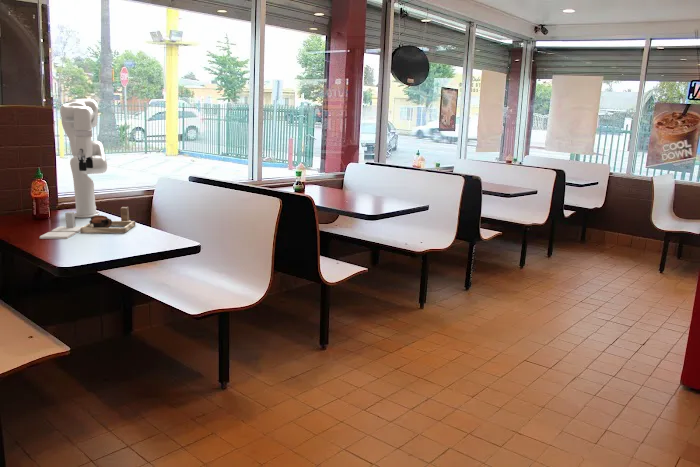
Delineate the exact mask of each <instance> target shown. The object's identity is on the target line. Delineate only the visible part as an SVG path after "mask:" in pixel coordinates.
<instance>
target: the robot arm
mask: <svg viewBox="0 0 700 467" xmlns="http://www.w3.org/2000/svg"><path fill="white" fill-rule="evenodd" d="M59 112H60V117H61V118H60V119H61V124H62V128H63V131H64V133H65V135H66V136H67V138H68V140H69V146H70V152H71V155H72V158H71V159H70V161H69V165H70V169H71V172H72V173H71V175H72V179H73V181H72V182H73V188H74V200H75V201H74V202H75V203H74V204H75V211H76V212H74V215H75V218H78V219H79V218H80V219H81V218H83V219H84V218H85V219H86V218H91V217H93V216H98V215H100V212H98V211H96V210H97V206H96V198H95V183H94V181H93V179H92V178H91V177H90V176H89V175H92V174H93V175H94V174H104V173H106V172H107V170H108V162H107V158H106V153H105V148H104V145H103V143H102V142H101V141H99V140H92V138H93V130H92V128H95V127H96V126H98V121H99V120H98V118H99V117H98V116H99V106H98V103H97V102H96V100H94V99H92V98H72V99H70V100H69V101H68V102H67V103H64V104H62V105H61V107H60V111H59Z"/></svg>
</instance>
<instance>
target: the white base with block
mask: <svg viewBox="0 0 700 467" xmlns="http://www.w3.org/2000/svg"><path fill="white" fill-rule="evenodd" d="M74 213H75V212H74V211H68V212H66V213H64V214H65V224H66V225H64V226H63V225H61V226H57V227H56V228H53V229H51V230H50V231H48V232H46V233H44V234H42V235H40V236H39V240H40V239H42V240H44V239H46V240H48V239H49V240H50V239H51V240H56V239H57V240H58V239H59V240H61V239H62V240H65V239H67V240H68V239H70V238H71V237H74V235H76V234H77V233H81V231H80V228H82V227H83V226H76V219H75V218H76V217H75V215H74Z"/></svg>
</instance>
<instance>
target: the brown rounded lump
mask: <svg viewBox="0 0 700 467" xmlns="http://www.w3.org/2000/svg"><path fill="white" fill-rule="evenodd" d="M112 221H113V220H112V219H111V218H109V217H107V216H106V215H100V214H99V215H98V216H93V217H90V220H89V221H88V224H89V223H90V224H93V227H92V228H111V227H112V226H111V224H112Z"/></svg>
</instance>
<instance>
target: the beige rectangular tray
mask: <svg viewBox="0 0 700 467" xmlns="http://www.w3.org/2000/svg"><path fill="white" fill-rule="evenodd" d="M120 219H121V220H112V224H111V226H110V227H109V228H92V227H94V226H93V224H90V223H89V222H88V223H87V224H86V225H84V226H81V227H82V228H80V233H87V234H88V233H91V234H92V233H94V234H95V233H97V234H98V233H100V234H101V233H102V234H103V233H106V234H107V233H109V234H110V233H113V234H114V233H115V234H116V233H118V234H120V233H121V234H122V233H123V234H124V233H126V232H128V231H129V230H131V229H132V228H133V227H135V226H136V220H131V219H130V210H129V206H122V207H120ZM112 226H116V227H112ZM117 226H119V227H117ZM121 226H123V227H121Z"/></svg>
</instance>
